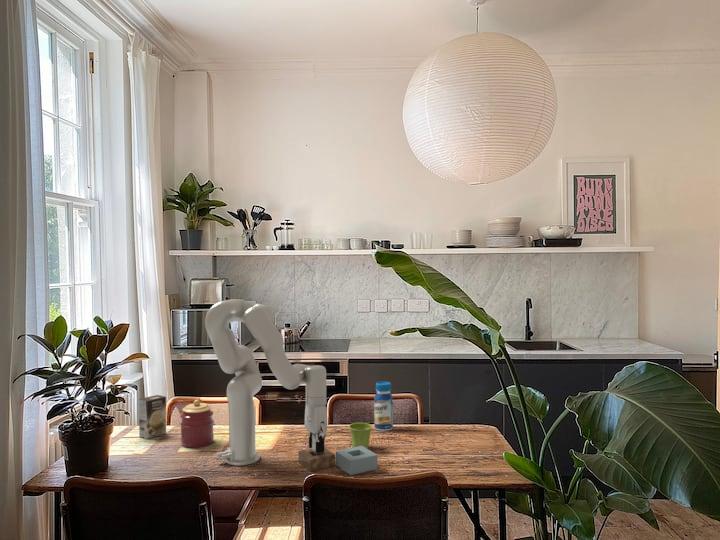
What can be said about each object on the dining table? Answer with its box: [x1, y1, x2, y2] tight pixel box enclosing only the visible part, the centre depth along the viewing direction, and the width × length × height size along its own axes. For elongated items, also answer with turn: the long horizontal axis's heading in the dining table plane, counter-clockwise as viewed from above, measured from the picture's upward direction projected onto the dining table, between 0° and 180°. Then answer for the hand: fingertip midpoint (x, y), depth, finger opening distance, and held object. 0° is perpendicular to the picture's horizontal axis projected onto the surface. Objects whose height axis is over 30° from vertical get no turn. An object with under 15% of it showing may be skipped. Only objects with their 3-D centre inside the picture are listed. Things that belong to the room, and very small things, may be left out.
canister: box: [179, 399, 215, 449], centre depth 222 cm, size 13×13×18 cm
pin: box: [311, 431, 322, 456], centre depth 198 cm, size 3×3×12 cm
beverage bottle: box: [373, 381, 394, 432], centre depth 238 cm, size 8×8×20 cm
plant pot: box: [348, 422, 373, 450], centre depth 214 cm, size 9×9×9 cm
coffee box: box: [138, 394, 167, 440], centre depth 232 cm, size 9×6×16 cm
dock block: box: [335, 446, 379, 476], centre depth 195 cm, size 11×11×5 cm
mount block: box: [298, 446, 336, 472], centre depth 198 cm, size 10×10×4 cm
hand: (316, 449), depth 198 cm, fingers open, 5 cm apart
